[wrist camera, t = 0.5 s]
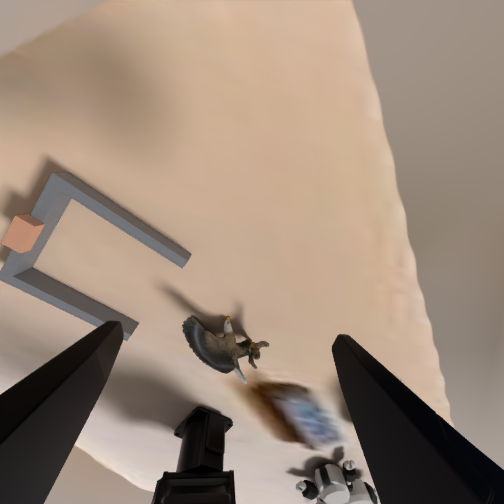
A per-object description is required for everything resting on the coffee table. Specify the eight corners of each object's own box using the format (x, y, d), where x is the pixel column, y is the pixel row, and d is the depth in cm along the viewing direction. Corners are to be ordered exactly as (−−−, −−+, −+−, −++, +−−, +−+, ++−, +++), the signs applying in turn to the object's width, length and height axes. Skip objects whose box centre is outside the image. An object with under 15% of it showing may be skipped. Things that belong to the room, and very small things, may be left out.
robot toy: (287, 466, 39) (320, 506, 43) (293, 500, 34) (329, 542, 38) (346, 439, 38) (374, 483, 42) (360, 471, 33) (390, 516, 37)
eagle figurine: (265, 308, 24) (187, 302, 21) (274, 378, 20) (178, 384, 17) (243, 327, 30) (178, 325, 27) (246, 385, 26) (170, 390, 23)
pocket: (134, 328, 25) (122, 347, 22) (14, 268, 21) (-19, 281, 18) (191, 254, 22) (185, 265, 20) (67, 171, 19) (38, 169, 16)
